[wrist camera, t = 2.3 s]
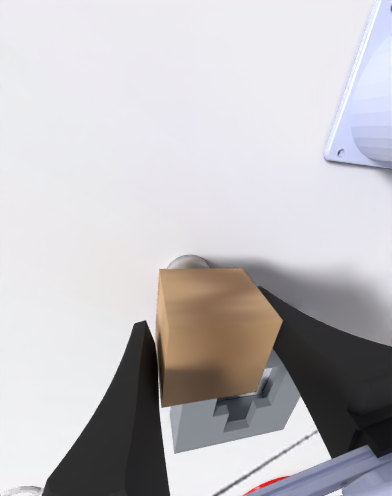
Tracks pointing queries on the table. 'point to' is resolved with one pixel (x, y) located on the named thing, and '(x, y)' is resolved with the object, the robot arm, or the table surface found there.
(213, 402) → the square hole plate
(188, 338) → the peg
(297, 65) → the table surface
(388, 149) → the robot arm
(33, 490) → the scissors
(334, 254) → the table surface
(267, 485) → the kitchen timer
